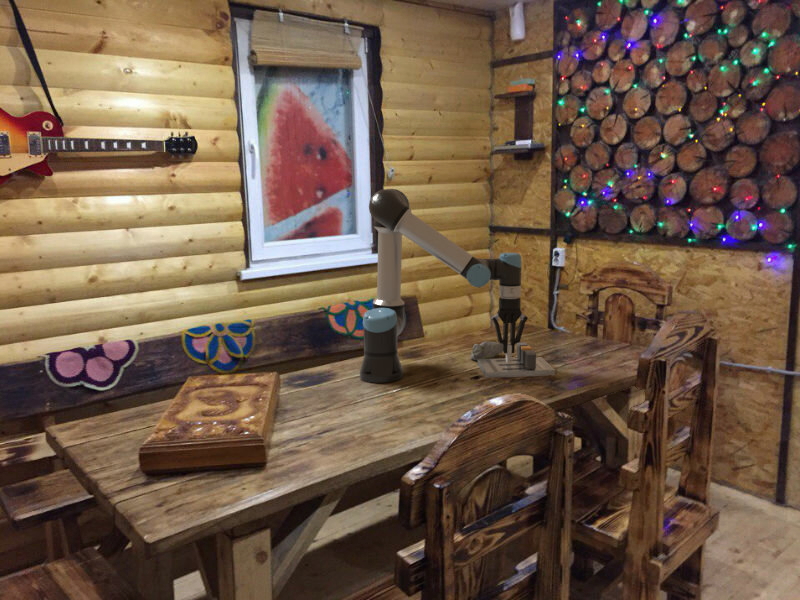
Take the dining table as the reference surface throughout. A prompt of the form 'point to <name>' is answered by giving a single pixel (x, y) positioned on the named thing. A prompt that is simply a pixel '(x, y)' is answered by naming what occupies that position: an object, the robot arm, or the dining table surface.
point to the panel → (513, 368)
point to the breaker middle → (524, 353)
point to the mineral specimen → (486, 350)
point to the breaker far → (520, 350)
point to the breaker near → (530, 359)
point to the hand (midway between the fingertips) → (508, 361)
